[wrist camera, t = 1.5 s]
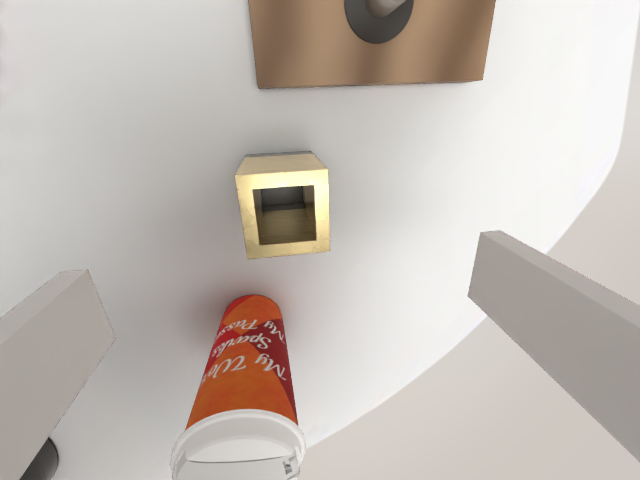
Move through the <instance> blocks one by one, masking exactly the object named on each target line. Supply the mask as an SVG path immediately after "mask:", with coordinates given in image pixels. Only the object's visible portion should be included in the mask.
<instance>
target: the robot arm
mask: <svg viewBox="0 0 640 480" xmlns="http://www.w3.org/2000/svg"><path fill="white" fill-rule="evenodd" d="M468 297H469V298H470V299H471V300H472V301H473V302H474V303H475V304H476V305H477V306H478V307H480V308H481V309H482V310H483V311H484V312H485V313H486V314H487V315H488V316H489V317H490V318H491V319H492V320H493V321H494V322H495V323H496V324H497V325H498V326H499V327H500V328H501V329H502V330H503V331H504V332H505V333H506V334H507V335H509V336H510V337H511V338H512V339H513V340H514V341H515V342H516V343H517V344H518V345H519V346H520V347H521V348H522V349H523V350H524V351H525V352H526V353H527V354H529V356H530V357H531V358H532V359H533V360H534V361H535V362H536V363H538V364H539V365H540V366H541V367H542V368H543V369H544V370H545V371H546V372H547V373H548V374H549V375H550V376H551V377H552V378H553V379H554V380H555V381H556V382H557V383H558V384H559V385H560V386H561V387H562V388H563V389H565V391H567V392H568V393H569V394H570V395H571V396H572V397H573V398H574V399H575V400H576V401H577V402H578V403H579V404H580V405H581V406H582V407H583V408H584V409H585V410H586V411H587V412H588V413H589V414H590V415H591V416H592V417H593V418H594V419H596V420H597V421H598V422H599V423H600V424H601V425H602V426H603V427H604V428H605V429H606V430H607V431H608V432H609V433H610V434H611V435H612V436H613V437H614V438H615V439H616V440H617V441H618V442H619V443H620V444H621V445H622V446H624V447H625V448H626V449H627V450H628V451H629V452H630V453H631V454H632V455H633V456H634V457H635V458H636V459H637V460H638V461H639V462H640V306H639V305H638V304H636V303H633V302H632V301H630V300H628V299H626V298H624V297H623V296H621V295H619V294H617V293H615V292H613V291H612V290H609V289H608V288H606V287H604V286H602V285H600V284H599V283H597V282H595V281H593V280H591V279H589V278H587V277H586V276H584V275H581V274H580V273H578V272H576V271H574V270H573V269H571V268H569V267H567V266H565V265H563V264H561V263H559V262H558V261H556V260H554V259H552V258H550V257H548V256H547V255H545V254H543V253H541V252H539V251H537V250H535V249H534V248H532V247H530V246H528V245H526V244H524V243H522V242H521V241H519V240H517V239H515V238H513V237H511V236H509V235H508V234H506V233H504V232H502V231H489V232H481V233H480V238H479V242H478V247H477V252H476V257H475V262H474V267H473V272H472V277H471V282H470V287H469V292H468ZM115 339H116V337H115V335H114V333H113V330H112V328H111V325H110V323H109V320H108V318H107V315H106V313H105V311H104V308H103V306H102V303H101V301H100V298H99V296H98V293H97V291H96V289H95V286H94V284H93V281H92V279H91V276H90V274H89V271H88V269H86V270H75V271H65V272H60V273H59V274H57V275H56V276H55V277H53V278H52V279H51V280H49V281H48V282H47V283H46V284H44V285H43V286H42V287H40V288H39V289H38V290H36V291H35V292H34V293H33V294H31V295H30V296H29V297H27V298H26V299H25V300H23V301H22V302H21V303H20V304H18V305H17V306H16V307H14V308H13V309H12V310H11V311H9V312H8V313H7V314H5V315H4V316H3V317H1V318H0V480H51V478H52V476H53V475H54V473H55V471H56V468H57V464H58V458H57V453H56V450H55V448H54V446H53V445H52V443H51V442H50V441H49V440H48V437H49V436H50V434H51V433H52V431H53V430H54V428H55V427H56V425H57V424H58V422H59V421H60V419H61V418H62V417H63V415H64V414H65V412H66V411H67V409H68V408H69V406H70V405H71V403H72V402H73V400H74V399H75V398H76V396H77V395H78V393H79V392H80V390H81V389H82V387H83V386H84V384H85V383H86V381H87V380H88V378H89V377H90V376H91V374H92V373H93V371H94V370H95V368H96V367H97V365H98V364H99V362H100V361H101V359H102V358H103V357H104V355H105V354H106V352H107V351H108V349H109V348H110V346H111V345H112V343H113V342H114V340H115Z"/></svg>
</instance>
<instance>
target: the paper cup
mask: <svg viewBox="0 0 640 480" xmlns="http://www.w3.org/2000/svg"><path fill="white" fill-rule="evenodd" d="M305 450H306V441H305V437H304V434H303V432H302V431H301V429H300V428H299V427H298V421H297V414H296V407H295V400H294V393H293V386H292V379H291V372H290V365H289V358H288V352H287V345H286V338H285V332H284V326H283V320H282V315H281V312H280V309H279V307H278V306H277V304H276V303H275V302H274V301H272V300H271V299H269V298H267V297H264V296H261V295H246V296H243V297H240V298H238V299H236V300H234V301H233V302H232V303H231V304H230V305H229V306H228V307H227V309H226V311H225V313H224V315H223V318H222V321H221V324H220V326H219V329H218V332H217V335H216V338H215V341H214V344H213V347H212V350H211V353H210V356H209V359H208V362H207V365H206V368H205V371H204V374H203V377H202V381H201V384H200V387H199V390H198V393H197V396H196V399H195V402H194V405H193V408H192V411H191V414H190V417H189V420H188V423H187V426H186V429H185V432H184V433H183V434H182V435H181V436H180V437H179V439H178V440H177V441H176V443H175V446H174V448H173V452H172V458H171V462H170V466H171V469H172V471H173V473H172V479H173V480H297V479H298V476H299V474H300V464H301V462H302V460H303V457H304V455H305Z"/></svg>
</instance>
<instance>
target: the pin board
mask: <svg viewBox="0 0 640 480" xmlns="http://www.w3.org/2000/svg"><path fill="white" fill-rule="evenodd" d="M248 1H249V10H250V19H251V29H252V38H253V47H254V56H255V66H256V75H257V84H258V88H259V89H268V88H300V87H332V86H364V85H396V84H428V83H461V82H472V81H479V80H483V74H484V68H485V62H486V56H487V50H488V44H489V38H490V32H491V26H492V20H493V14H494V8H495V2H496V0H248Z"/></svg>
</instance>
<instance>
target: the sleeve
mask: <svg viewBox="0 0 640 480" xmlns="http://www.w3.org/2000/svg"><path fill="white" fill-rule="evenodd" d="M235 180H236V186H237V193H238V199H239V206H240V212H241V219H242V225H243V232H244V238H245V245H246V252H247V258H248V259H256V258H266V257H276V256H286V255H296V254H306V253H316V252H326V251H330V229H329V189H328V169H327V168H326V167H325V166H324V165H323V164H322V163H321V162H320V160H319V159H318V158H317V157H316V156H315V155H314V154H313V153H312V152H311V151H301V152H283V153H266V154H249V155H246V156H245V158H244V160H243V162H242V163H241V165H240V167H239V169H238V171H237V173H236V174H235ZM291 186H303V202H304V203H294V204H281V205H269V206H263V202H262V194H261V189H263V188H277V187H291Z"/></svg>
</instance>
